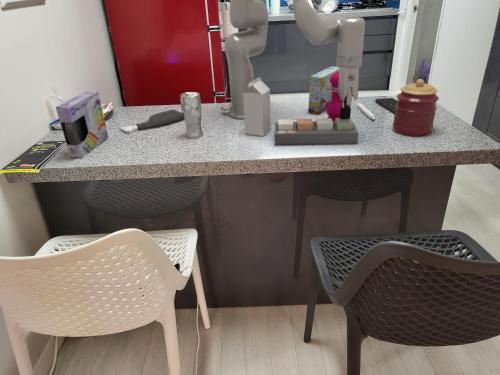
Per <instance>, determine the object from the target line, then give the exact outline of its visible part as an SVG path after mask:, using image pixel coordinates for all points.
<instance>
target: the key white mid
mask: <svg viewBox="0 0 500 375" xmlns="http://www.w3.org/2000/svg"><path fill="white" fill-rule="evenodd" d="M315 121H316V130H333V122H332V119H331V118H328V117H325V118H324V117H323V118H315Z"/></svg>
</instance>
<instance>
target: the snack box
mask: <svg viewBox="0 0 500 375" xmlns="http://www.w3.org/2000/svg"><path fill="white" fill-rule="evenodd" d="M337 69H338V67H336V66H330V67H327V68H325V69H323V70H320V71H319V72H317V73H315V74H314V73H313V74H312V75H310V77H309V91H308V93H309V95H308V110H307V111H308V112H307V113H308V114H311V115H312V114H313V115H316V116H317V115H318V116H319V115H321V114H323V113H324V112H326V111H327V107H328V104H329V103H330V101H331V98H332V91H331V86H332V84H331V83H330V77H331V75H332V74H334V73H336V72H337Z"/></svg>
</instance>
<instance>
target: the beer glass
mask: <svg viewBox="0 0 500 375" xmlns="http://www.w3.org/2000/svg"><path fill="white" fill-rule="evenodd" d="M201 101H202V100H201V97H200V92H194V91H190V92H189V91H188V92H184V93H181V94H180V107H181V113H183V117H184V120H183V121H184V123H185V128H186V134H185V135H186V136H185V137H187V138H189V139H198V138H202V137H203V136H204V131H203V129H202V112H203V110H202V103H201Z"/></svg>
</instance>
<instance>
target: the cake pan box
mask: <svg viewBox="0 0 500 375" xmlns="http://www.w3.org/2000/svg"><path fill="white" fill-rule="evenodd" d="M99 94H100V93H99V91H97V90H86V91H84V92H82V93H80V94H78V95H75V96H73V97H71V98H69V99H68V100H66V101H64V102H63V103H60V104H58V105H56V106H55V109H56V114H57V117H58V121H59V123H60V127H61V130H62V133H63V137H64V141H65V144H66V147H67V150H68V154H69V157H70V158H71V157H77V158H76V159H83V158H84V157H85V156H87V155H88V154H89V153H90V152H92V151H93V150H94V149H95V148H97V147H98V146H99V145H101V142H102V143H103V142H104V141H106V139H108V138H109V134H108V129H107V124H106V120H105V116H104V111H103V107H102V103H101V99H100V95H99ZM96 146H97V147H96ZM92 149H93V150H92ZM91 150H92V151H91ZM88 152H89V153H88ZM87 153H88V154H87ZM86 154H87V155H86ZM84 155H85V156H84ZM83 156H84V157H83ZM82 157H83V158H82Z"/></svg>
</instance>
